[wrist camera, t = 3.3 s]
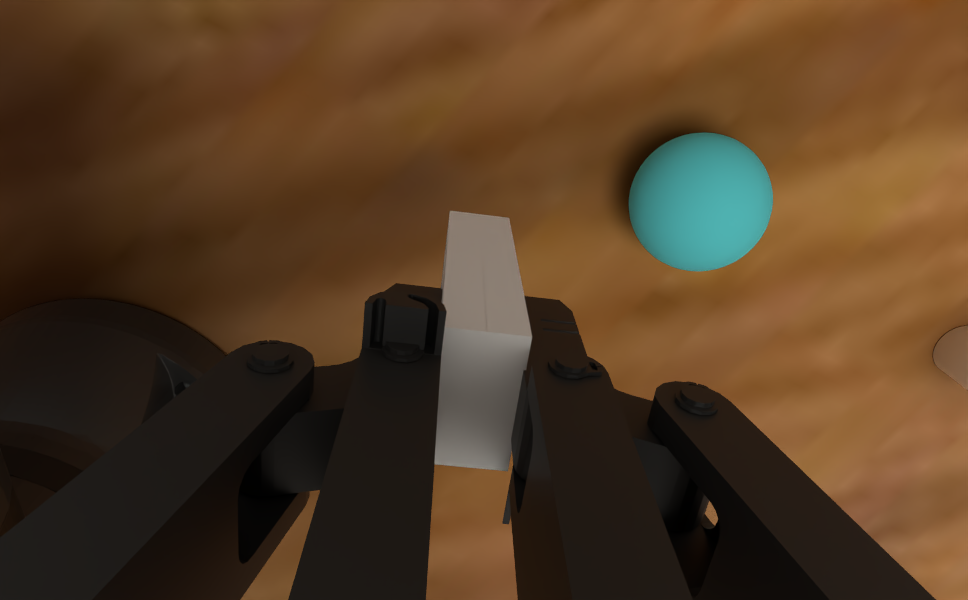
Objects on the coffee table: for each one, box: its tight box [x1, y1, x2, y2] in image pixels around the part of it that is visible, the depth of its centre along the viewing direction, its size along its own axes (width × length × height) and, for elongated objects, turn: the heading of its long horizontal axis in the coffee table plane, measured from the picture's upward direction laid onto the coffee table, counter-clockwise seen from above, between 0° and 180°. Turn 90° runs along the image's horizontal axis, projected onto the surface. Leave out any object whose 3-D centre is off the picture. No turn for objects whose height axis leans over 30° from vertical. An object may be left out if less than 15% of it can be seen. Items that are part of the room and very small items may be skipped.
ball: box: [629, 132, 773, 271], centre depth 27 cm, size 6×6×6 cm
